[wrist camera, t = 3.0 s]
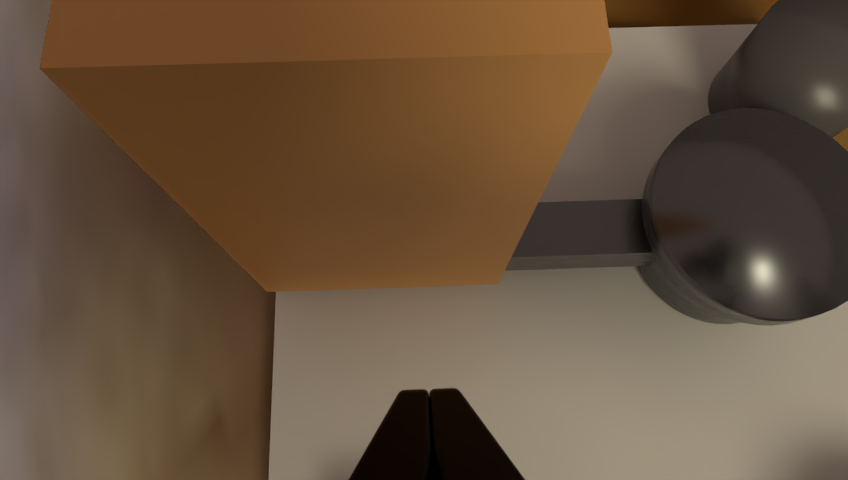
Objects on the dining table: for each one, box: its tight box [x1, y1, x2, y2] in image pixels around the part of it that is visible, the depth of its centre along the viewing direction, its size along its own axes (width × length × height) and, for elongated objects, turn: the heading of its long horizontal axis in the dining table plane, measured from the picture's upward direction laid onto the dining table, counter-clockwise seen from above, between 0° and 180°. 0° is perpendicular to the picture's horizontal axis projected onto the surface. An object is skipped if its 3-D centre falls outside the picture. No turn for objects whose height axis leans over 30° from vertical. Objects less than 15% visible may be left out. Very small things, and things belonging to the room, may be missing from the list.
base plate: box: [269, 0, 848, 480], centre depth 15 cm, size 22×16×4 cm
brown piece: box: [40, 0, 848, 326], centre depth 12 cm, size 15×5×10 cm, turn 92°
